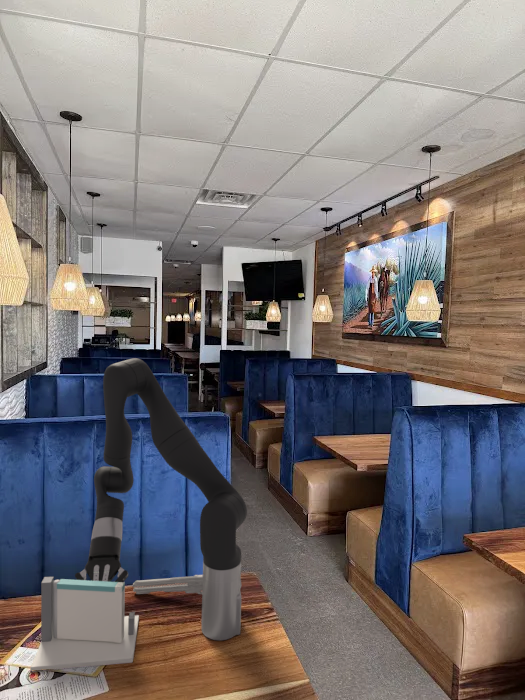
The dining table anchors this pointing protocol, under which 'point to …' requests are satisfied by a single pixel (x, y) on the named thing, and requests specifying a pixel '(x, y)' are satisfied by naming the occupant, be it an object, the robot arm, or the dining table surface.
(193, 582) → the grey flat strip
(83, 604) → the gate panel
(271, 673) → the dining table surface
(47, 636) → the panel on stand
